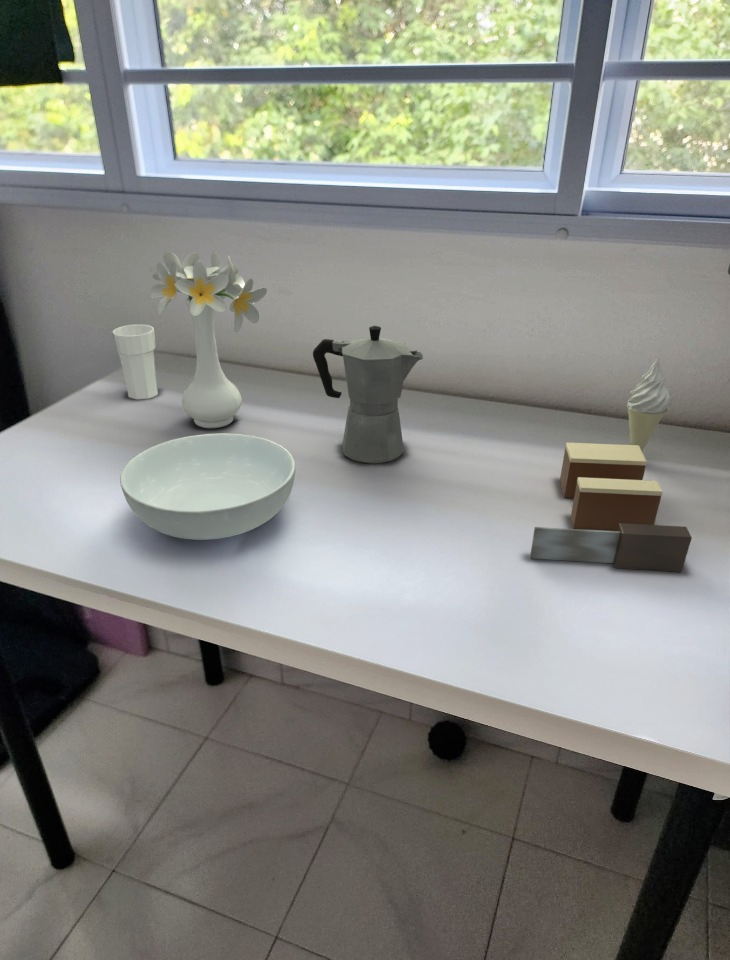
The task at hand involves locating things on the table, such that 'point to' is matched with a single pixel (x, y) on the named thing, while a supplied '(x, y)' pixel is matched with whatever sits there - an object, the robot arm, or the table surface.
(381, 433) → the coffeepot
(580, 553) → the knife
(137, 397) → the cup
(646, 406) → the ice cream cone
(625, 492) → the cake slice
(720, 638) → the table surface
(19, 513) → the table surface
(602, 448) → the cake
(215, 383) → the flower vase
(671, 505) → the table surface
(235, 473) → the serving bowl
